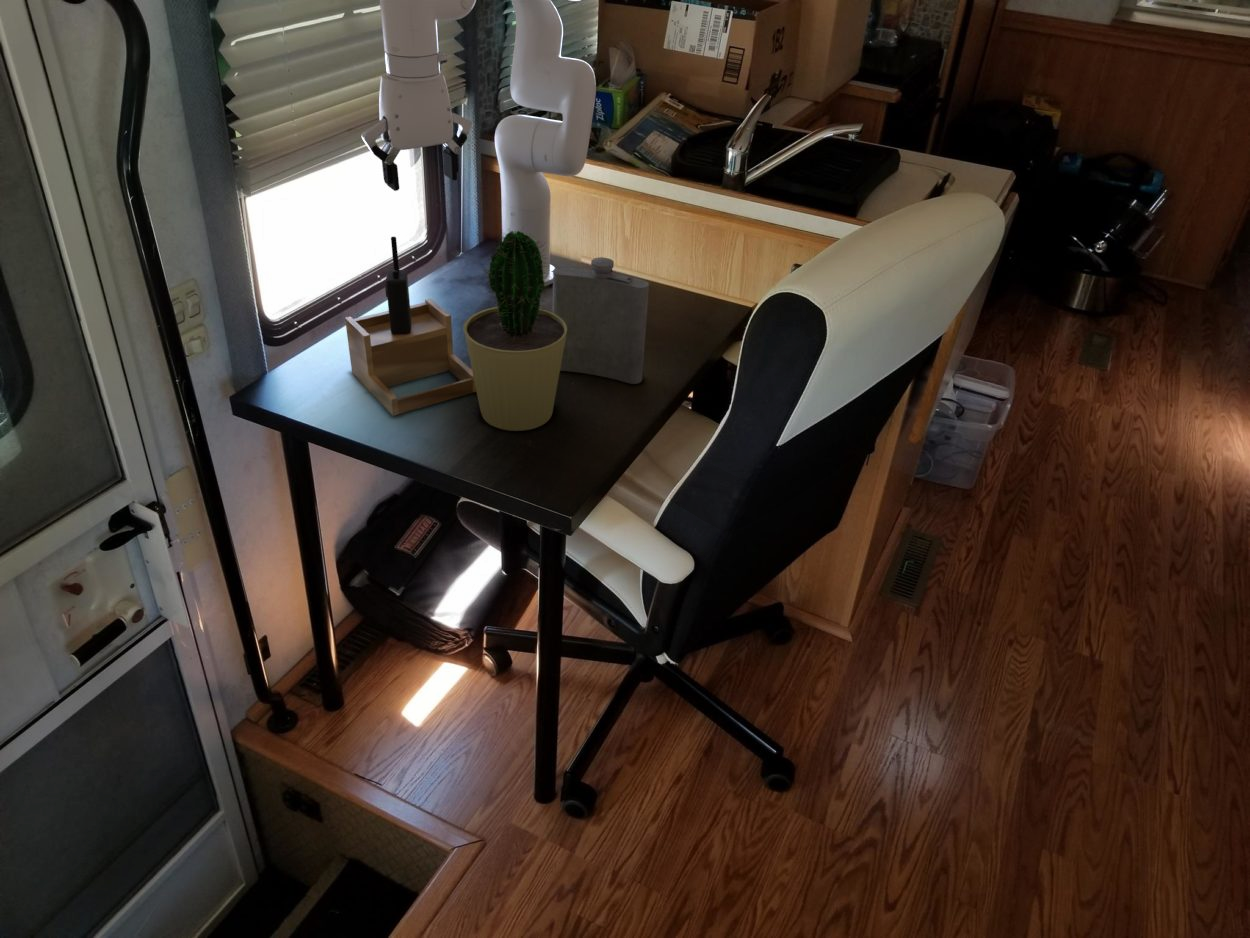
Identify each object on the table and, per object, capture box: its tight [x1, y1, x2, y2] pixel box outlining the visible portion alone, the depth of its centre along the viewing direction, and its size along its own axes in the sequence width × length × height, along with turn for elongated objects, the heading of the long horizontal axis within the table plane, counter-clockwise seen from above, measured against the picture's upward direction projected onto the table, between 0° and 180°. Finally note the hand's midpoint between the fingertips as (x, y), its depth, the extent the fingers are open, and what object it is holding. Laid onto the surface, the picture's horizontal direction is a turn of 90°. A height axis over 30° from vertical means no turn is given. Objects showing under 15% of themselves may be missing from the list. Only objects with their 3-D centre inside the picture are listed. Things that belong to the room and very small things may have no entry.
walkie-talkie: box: [384, 236, 411, 334], centre depth 147 cm, size 5×3×15 cm
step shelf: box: [344, 298, 477, 417], centre depth 151 cm, size 16×15×10 cm
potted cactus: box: [462, 227, 567, 432], centre depth 139 cm, size 15×15×30 cm
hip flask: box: [552, 256, 650, 385], centre depth 154 cm, size 16×4×20 cm, turn 75°
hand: (422, 182), depth 144 cm, fingers open, 9 cm apart
